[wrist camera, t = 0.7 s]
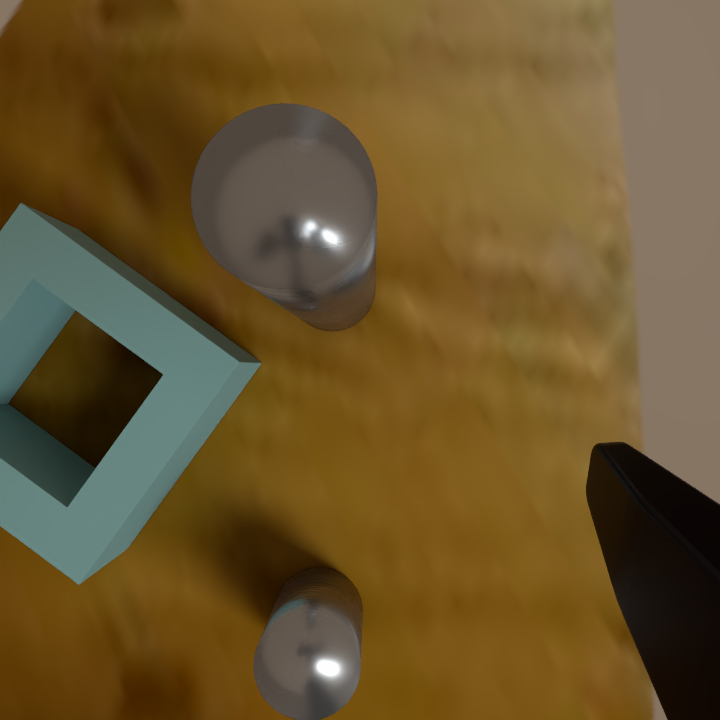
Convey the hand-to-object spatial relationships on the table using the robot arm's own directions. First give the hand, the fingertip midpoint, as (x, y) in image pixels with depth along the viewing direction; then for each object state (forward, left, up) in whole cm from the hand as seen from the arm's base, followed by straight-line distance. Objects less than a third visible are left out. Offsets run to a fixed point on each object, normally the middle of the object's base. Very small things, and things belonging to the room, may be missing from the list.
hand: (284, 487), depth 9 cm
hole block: (-5, +8, -15) cm, 18 cm away
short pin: (-7, -4, -15) cm, 17 cm away
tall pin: (+4, +3, -15) cm, 16 cm away
